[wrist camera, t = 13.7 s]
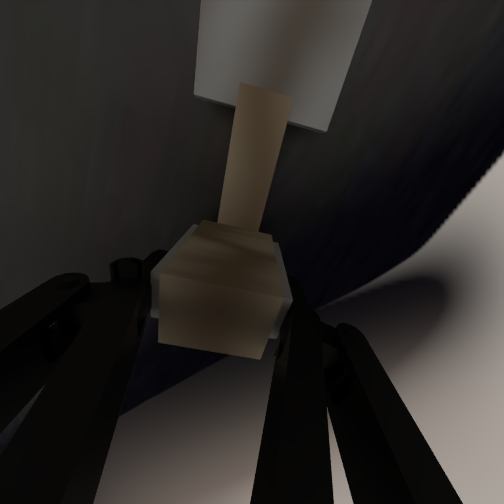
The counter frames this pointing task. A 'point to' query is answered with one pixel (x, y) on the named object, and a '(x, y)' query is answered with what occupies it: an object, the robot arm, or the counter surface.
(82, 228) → the counter surface
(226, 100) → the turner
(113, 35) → the counter surface
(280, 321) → the robot arm
